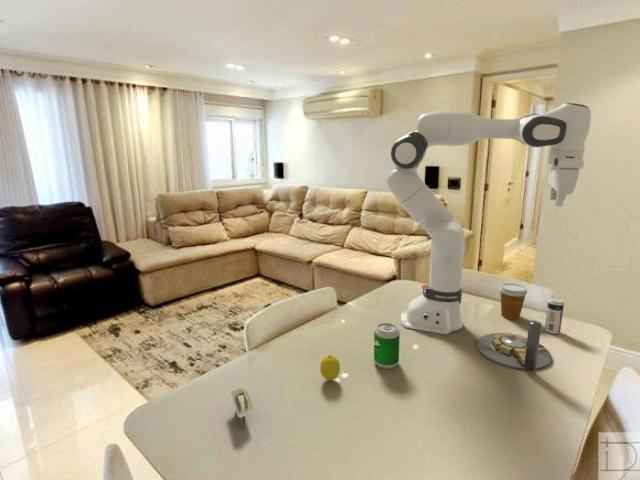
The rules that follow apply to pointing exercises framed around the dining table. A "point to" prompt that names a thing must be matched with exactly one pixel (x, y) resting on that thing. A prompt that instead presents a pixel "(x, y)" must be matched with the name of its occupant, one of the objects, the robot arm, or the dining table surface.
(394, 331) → the soda can
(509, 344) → the flange
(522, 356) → the tan handled ring
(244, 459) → the dining table surface
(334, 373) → the lemon
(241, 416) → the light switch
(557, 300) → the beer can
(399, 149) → the robot arm
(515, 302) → the disposable coffee cup
